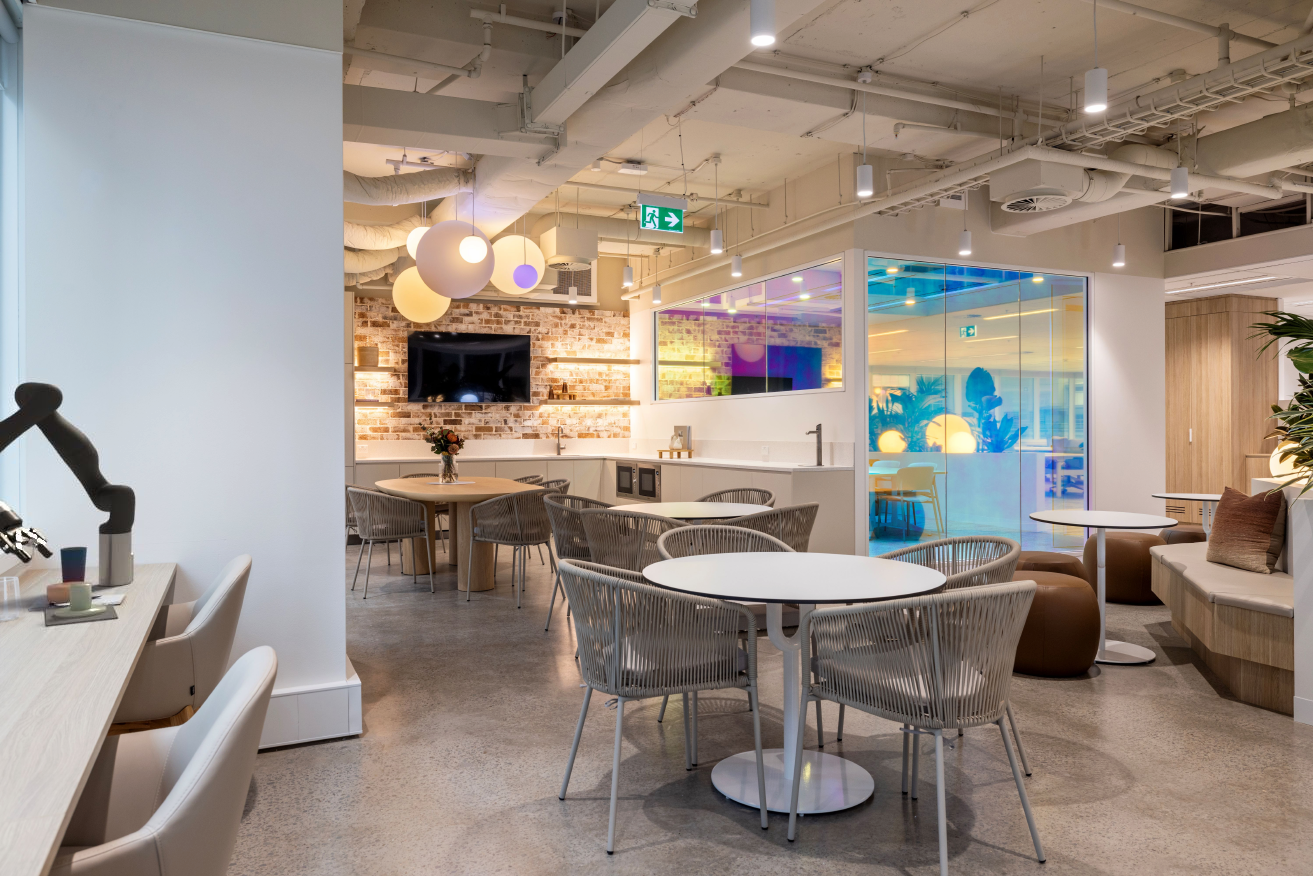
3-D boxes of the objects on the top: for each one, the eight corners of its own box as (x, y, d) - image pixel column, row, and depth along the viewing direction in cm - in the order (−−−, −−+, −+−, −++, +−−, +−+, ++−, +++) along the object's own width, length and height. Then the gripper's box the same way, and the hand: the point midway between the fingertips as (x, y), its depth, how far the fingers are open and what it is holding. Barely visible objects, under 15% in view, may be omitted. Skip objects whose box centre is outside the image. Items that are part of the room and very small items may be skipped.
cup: (92, 594, 262) (92, 547, 261) (74, 598, 255) (75, 550, 255) (72, 593, 262) (72, 546, 262) (54, 598, 256) (54, 549, 255)
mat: (45, 610, 239) (45, 609, 239) (111, 604, 248) (111, 602, 248) (46, 626, 221) (46, 624, 221) (118, 618, 231) (118, 617, 231)
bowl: (68, 598, 255) (68, 580, 255) (100, 600, 253) (100, 582, 253) (37, 606, 244) (37, 587, 244) (70, 608, 243) (70, 589, 242)
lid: (79, 607, 242) (79, 579, 241) (116, 609, 240) (116, 581, 240) (43, 617, 230) (43, 587, 230) (82, 619, 228) (82, 589, 228)
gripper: (-12, 511, 226) (31, 553, 227) (25, 505, 241) (66, 545, 241) (-32, 530, 226) (11, 572, 227) (7, 524, 241) (47, 563, 241)
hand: (39, 558), depth 234 cm, fingers open, 8 cm apart
